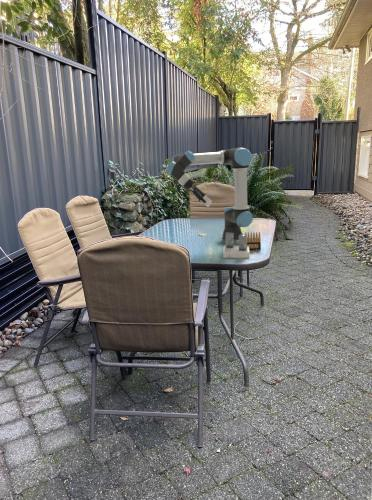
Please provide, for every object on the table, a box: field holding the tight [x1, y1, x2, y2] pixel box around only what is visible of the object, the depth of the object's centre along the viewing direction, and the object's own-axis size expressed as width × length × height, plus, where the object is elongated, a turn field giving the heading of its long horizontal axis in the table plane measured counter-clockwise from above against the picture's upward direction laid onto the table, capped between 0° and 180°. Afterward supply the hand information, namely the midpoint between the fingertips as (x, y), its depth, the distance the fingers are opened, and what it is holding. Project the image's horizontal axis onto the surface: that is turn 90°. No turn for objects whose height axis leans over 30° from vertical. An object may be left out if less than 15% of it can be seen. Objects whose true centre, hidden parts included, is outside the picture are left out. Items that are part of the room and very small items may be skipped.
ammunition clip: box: [244, 231, 262, 251], centre depth 250 cm, size 11×2×12 cm, turn 88°
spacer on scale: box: [238, 234, 248, 251], centre depth 235 cm, size 5×5×9 cm
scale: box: [222, 245, 251, 259], centre depth 241 cm, size 17×16×4 cm
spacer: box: [225, 232, 235, 248], centre depth 243 cm, size 5×5×9 cm
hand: (210, 204), depth 250 cm, fingers open, 13 cm apart
